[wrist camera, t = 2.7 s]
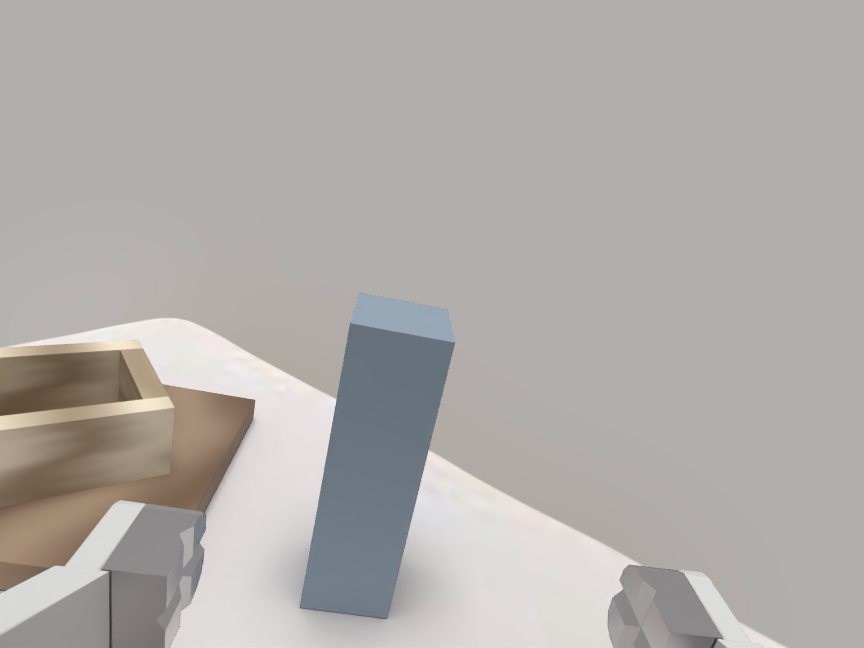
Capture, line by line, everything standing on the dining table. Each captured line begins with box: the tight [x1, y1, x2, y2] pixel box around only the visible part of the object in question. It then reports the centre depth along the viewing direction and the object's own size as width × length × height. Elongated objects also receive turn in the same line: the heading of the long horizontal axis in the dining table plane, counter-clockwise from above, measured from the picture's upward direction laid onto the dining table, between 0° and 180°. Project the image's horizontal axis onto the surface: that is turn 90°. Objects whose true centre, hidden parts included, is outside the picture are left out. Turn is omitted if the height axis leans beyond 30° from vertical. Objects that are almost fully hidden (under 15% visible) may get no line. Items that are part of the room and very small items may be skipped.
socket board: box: [0, 340, 255, 590], centre depth 29 cm, size 16×16×6 cm
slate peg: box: [300, 292, 455, 619], centre depth 25 cm, size 4×4×14 cm
